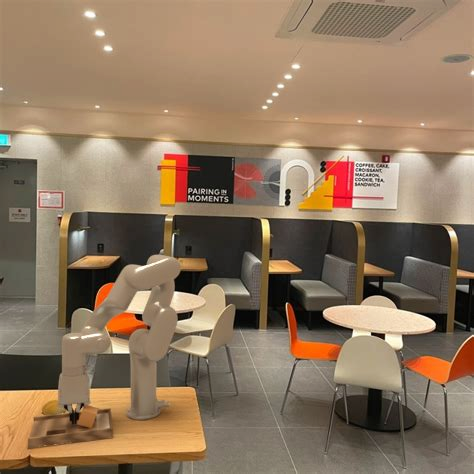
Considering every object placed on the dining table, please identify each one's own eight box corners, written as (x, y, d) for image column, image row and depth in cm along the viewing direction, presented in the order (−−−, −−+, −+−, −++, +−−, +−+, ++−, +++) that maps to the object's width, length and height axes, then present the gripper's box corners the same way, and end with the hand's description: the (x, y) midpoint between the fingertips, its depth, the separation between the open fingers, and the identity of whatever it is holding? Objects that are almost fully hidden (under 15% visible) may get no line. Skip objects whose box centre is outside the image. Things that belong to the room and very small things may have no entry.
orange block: (93, 421, 164) (98, 408, 164) (91, 428, 159) (96, 414, 159) (79, 417, 163) (84, 404, 163) (77, 424, 158) (82, 410, 158)
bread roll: (47, 419, 170) (47, 408, 170) (39, 411, 177) (39, 401, 177) (70, 413, 175) (70, 403, 175) (61, 405, 182) (61, 395, 182)
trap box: (110, 416, 172) (110, 408, 172) (112, 437, 156) (112, 428, 156) (33, 425, 165) (33, 416, 164) (27, 448, 148) (27, 438, 148)
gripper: (96, 364, 165) (96, 415, 166) (51, 368, 161) (51, 420, 162) (96, 371, 158) (97, 424, 159) (49, 375, 154) (49, 430, 155)
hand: (74, 422), depth 160 cm, fingers closed
